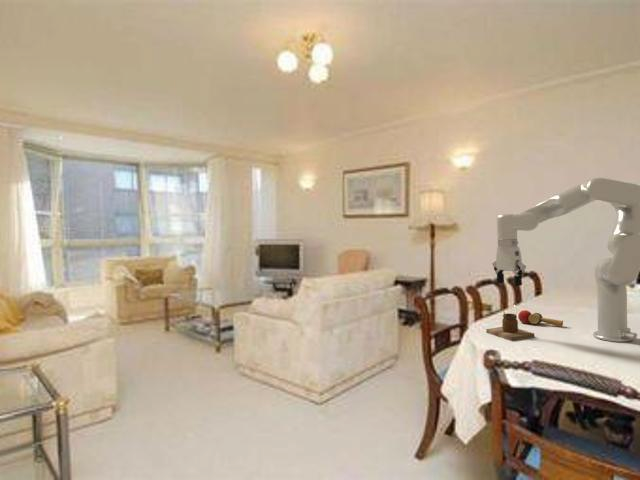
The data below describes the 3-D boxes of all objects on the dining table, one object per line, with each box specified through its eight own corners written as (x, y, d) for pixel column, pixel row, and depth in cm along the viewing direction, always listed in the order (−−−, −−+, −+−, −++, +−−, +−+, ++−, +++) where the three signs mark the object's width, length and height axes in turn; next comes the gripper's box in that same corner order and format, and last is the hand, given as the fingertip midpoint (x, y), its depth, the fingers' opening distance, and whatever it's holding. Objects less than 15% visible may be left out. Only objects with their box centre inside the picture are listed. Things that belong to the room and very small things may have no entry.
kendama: (563, 327, 182) (520, 317, 194) (564, 315, 181) (521, 305, 192) (559, 334, 177) (515, 324, 188) (561, 321, 175) (516, 311, 186)
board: (534, 337, 165) (534, 333, 165) (511, 340, 161) (511, 337, 161) (508, 329, 179) (508, 325, 178) (486, 332, 175) (486, 329, 175)
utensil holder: (518, 333, 166) (518, 304, 166) (502, 332, 168) (501, 304, 168) (517, 329, 172) (516, 301, 171) (501, 328, 174) (500, 301, 173)
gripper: (531, 243, 162) (533, 285, 162) (499, 242, 178) (501, 281, 179) (516, 244, 159) (518, 287, 160) (485, 243, 176) (487, 282, 176)
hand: (509, 284), depth 169 cm, fingers open, 9 cm apart
